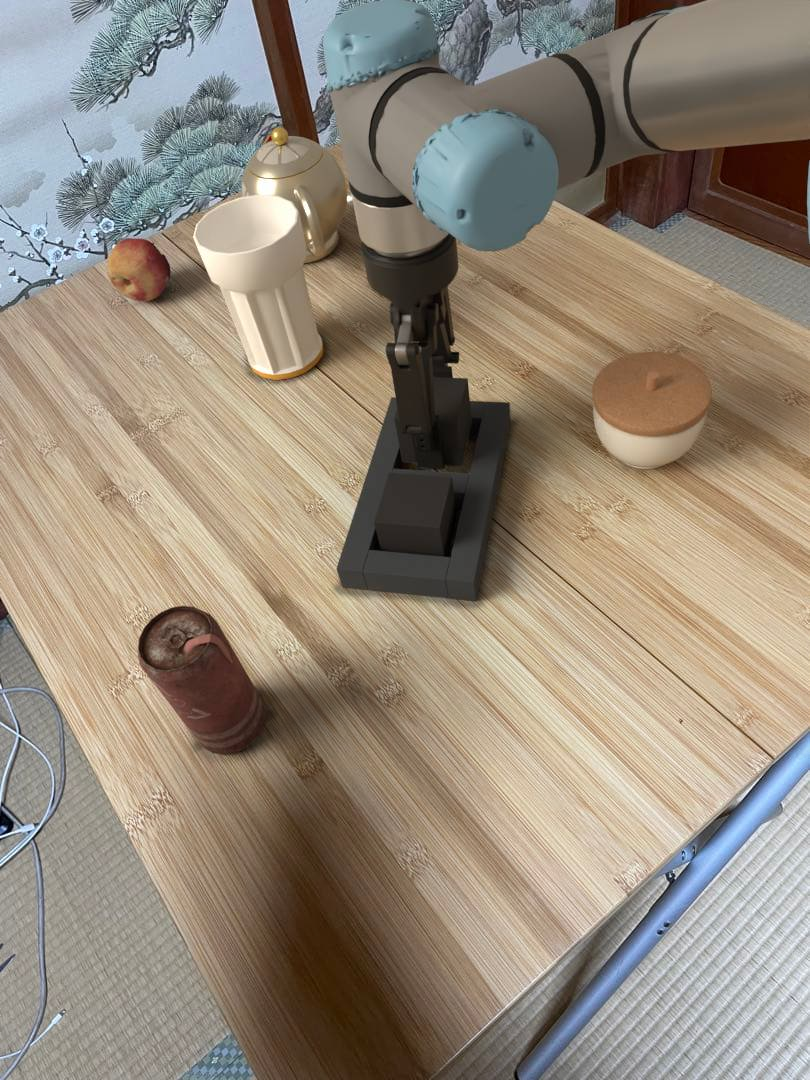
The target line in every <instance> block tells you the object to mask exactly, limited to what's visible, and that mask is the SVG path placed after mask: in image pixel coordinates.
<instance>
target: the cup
mask: <svg viewBox="0 0 810 1080" xmlns="http://www.w3.org/2000/svg"><path fill="white" fill-rule="evenodd" d="M192 236H193V237H192V239H193V241H194V243H195V246H196V248H197V250H198V253H199V256H200V257H201V260H202V263H203V265H204V267H205V270H206V272H207V274H208V276H209V279H210V281H211V282H212V283H213V284H215V285H217V286H218V287H219V289H220V291H221V294H222V297H223V300H224V302H225V305H226V307H227V309H228V312H229V314H230V317H231V319H232V322H233V324H234V327H235V330H236V332H237V335H238V337H239V339H240V342H241V344H242V346H243V347H242V348H243V349H244V353H245V354H246V357H247V361H248V364H249V366H250V369H251V370H252V372H253V373H254V374H256V375H258V376H259V377H262V378H263V379H264V378H265V379H268V380H275V381H279V380H287V379H293V378H295V377H298V376H301V375H304V374H306V373H307V372H308V371H310V370H311V369H312V368H313V367H315V366H316V365H317V364H318V362H320V360H321V358H322V357H323V355H324V343H323V339H322V337H321V335H320V334H319V332H318V329H317V324H316V319H315V315H314V311H313V306H312V303H311V298H310V294H309V289H308V286H307V281H306V276H305V272H304V267H303V265H304V264H305V263H304V261H305V259H306V249H307V247H306V243H305V238H304V233H303V229H302V224H301V219H300V215H299V211H298V210H297V208H296V207H295V205H294V204H293V202H291V201H289V200H286V199H284V198H282V197H280V196H273V195H262V194H260V195H253V196H246V197H238V198H235V199H232V200H229V201H226V202H222V203H221V204H219V205H218V206H216V207H214V208H213V209H211V210H209V211H208V212H206V213H205V214H204V216H202V217H201V219H200V220H199V221H198V222H197V223H196V225H195V228H194V232H193V235H192Z"/></svg>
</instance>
